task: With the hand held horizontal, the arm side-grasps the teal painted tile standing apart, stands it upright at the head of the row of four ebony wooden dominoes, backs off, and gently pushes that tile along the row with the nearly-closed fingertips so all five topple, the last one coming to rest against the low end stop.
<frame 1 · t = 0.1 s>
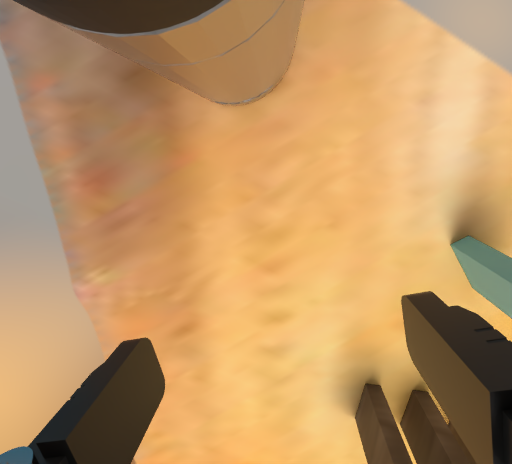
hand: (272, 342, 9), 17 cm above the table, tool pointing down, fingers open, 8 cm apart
domino 1: (367, 402, 32), on the table
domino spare: (470, 262, 26), on the table
domino 2: (413, 408, 31), on the table
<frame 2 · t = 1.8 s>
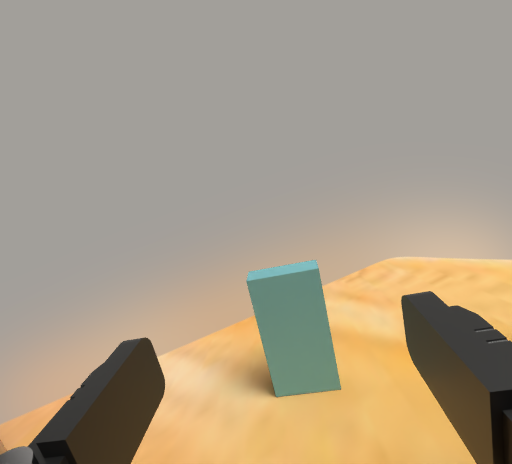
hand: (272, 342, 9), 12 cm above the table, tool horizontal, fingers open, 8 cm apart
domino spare: (307, 385, 23), on the table
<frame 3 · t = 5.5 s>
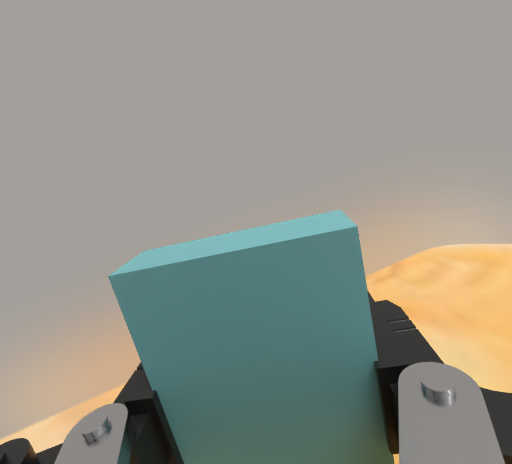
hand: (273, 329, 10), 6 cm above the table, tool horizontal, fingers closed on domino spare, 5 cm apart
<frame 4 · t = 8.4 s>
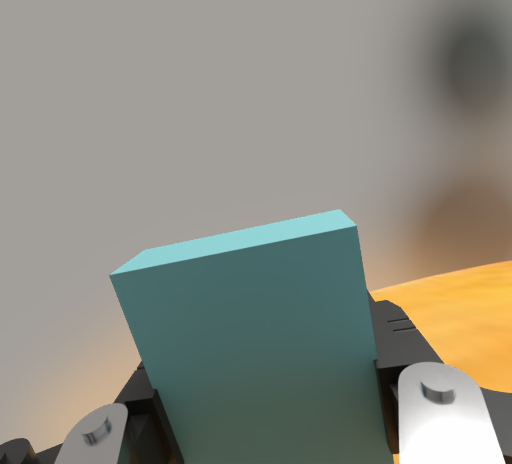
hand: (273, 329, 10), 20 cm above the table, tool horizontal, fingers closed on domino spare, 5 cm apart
when the fingers open (6 cm above the table, at t = 11.1 s): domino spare stays where it is, on the table.
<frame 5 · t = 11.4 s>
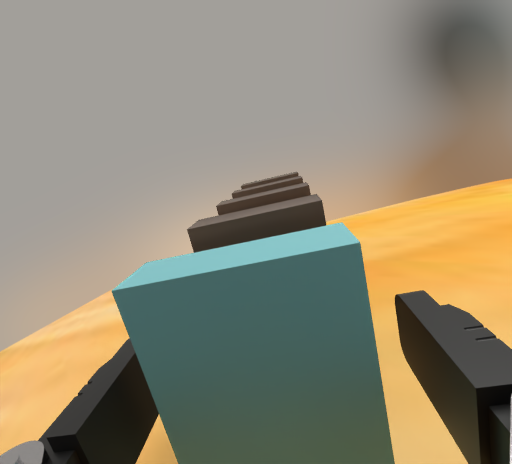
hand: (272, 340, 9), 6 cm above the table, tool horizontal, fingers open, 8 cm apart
domino 1: (303, 416, 14), on the table
domino 2: (297, 347, 18), on the table
domino 3: (294, 307, 23), on the table
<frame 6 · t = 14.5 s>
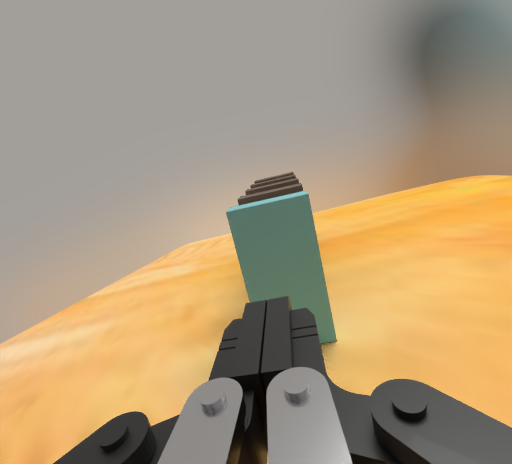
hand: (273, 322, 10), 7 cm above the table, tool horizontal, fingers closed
domino 1: (295, 304, 25), on the table
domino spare: (298, 339, 20), on the table
domino 2: (292, 279, 30), on the table
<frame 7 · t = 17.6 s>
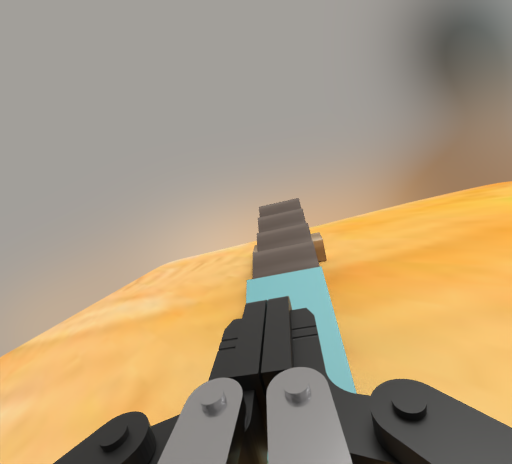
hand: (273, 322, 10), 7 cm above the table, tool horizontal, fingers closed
end stop: (291, 262, 35), on the table
domino 1: (299, 372, 16), point 1 cm above the table, tilted 68°, touching domino 2, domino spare
domino 4: (290, 270, 29), point 1 cm above the table, tilted 60°, touching domino 3, end stop
domino 2: (296, 324, 21), point 1 cm above the table, tilted 64°, touching domino 1, domino 3
domino 3: (292, 293, 25), point 1 cm above the table, tilted 60°, touching domino 2, domino 4
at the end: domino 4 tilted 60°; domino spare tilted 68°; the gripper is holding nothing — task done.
